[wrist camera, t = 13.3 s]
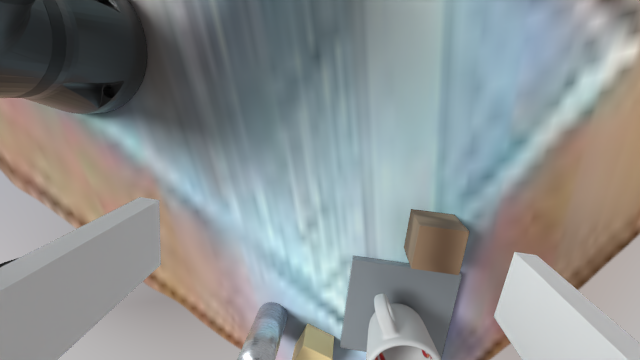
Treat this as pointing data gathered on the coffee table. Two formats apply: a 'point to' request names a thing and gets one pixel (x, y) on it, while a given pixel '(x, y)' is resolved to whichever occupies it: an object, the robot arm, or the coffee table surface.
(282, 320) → the grey peg
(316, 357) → the ochre block
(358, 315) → the coaster
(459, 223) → the walnut block
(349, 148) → the coffee table surface
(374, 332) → the cup
